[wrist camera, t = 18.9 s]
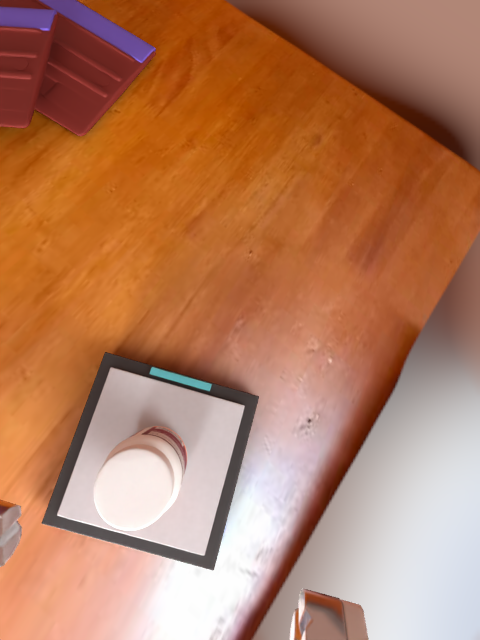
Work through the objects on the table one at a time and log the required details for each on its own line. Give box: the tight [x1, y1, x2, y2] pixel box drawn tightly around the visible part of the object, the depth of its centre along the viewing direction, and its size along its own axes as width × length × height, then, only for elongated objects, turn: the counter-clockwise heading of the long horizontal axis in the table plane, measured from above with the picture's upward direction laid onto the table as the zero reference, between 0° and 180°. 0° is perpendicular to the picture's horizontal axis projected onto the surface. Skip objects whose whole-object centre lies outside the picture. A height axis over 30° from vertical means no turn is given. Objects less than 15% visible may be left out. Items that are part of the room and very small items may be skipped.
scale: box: [42, 352, 259, 570], centre depth 27 cm, size 13×13×3 cm
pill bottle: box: [94, 426, 187, 531], centre depth 22 cm, size 5×5×8 cm
